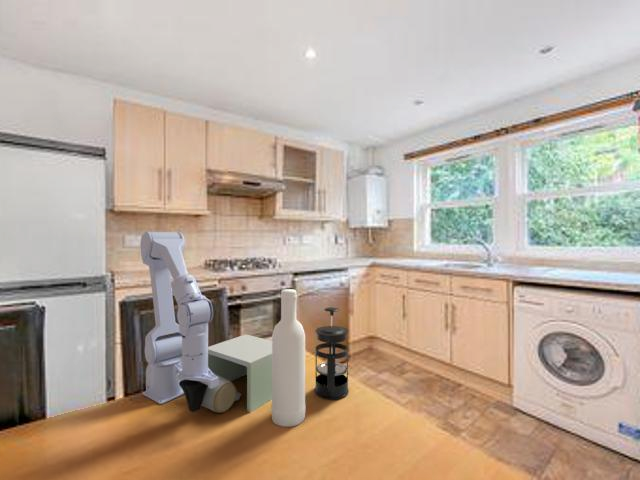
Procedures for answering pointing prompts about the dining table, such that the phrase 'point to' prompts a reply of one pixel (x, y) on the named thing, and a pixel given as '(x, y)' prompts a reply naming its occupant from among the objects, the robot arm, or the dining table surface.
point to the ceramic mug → (220, 396)
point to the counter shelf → (245, 365)
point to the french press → (331, 362)
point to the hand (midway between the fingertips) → (195, 409)
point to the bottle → (288, 365)
